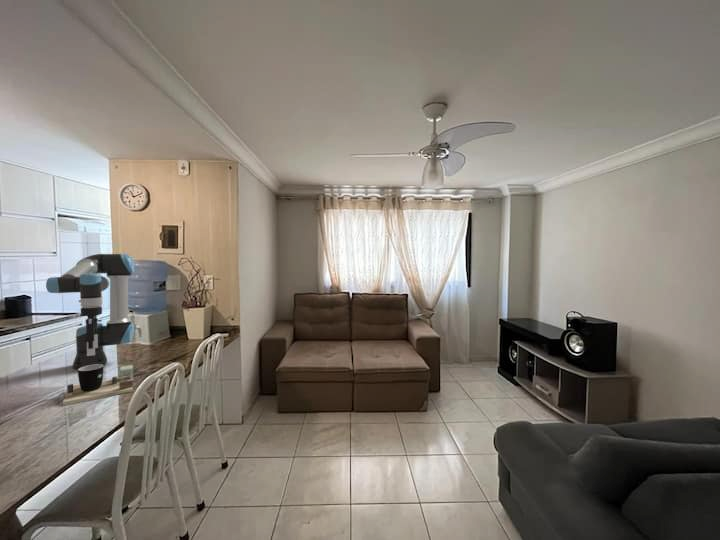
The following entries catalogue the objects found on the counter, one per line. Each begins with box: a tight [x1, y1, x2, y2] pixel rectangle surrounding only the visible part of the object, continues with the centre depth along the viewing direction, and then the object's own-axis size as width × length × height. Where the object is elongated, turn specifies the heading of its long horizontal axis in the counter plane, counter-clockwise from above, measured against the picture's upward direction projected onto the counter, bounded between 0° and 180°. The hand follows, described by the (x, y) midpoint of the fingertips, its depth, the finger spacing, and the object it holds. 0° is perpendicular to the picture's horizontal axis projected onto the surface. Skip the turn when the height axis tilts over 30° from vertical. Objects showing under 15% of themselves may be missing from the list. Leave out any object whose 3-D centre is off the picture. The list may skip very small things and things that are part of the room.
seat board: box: [62, 375, 134, 406], centre depth 147 cm, size 20×24×4 cm
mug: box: [77, 364, 104, 392], centre depth 146 cm, size 12×9×10 cm
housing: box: [119, 364, 134, 381], centre depth 158 cm, size 6×5×5 cm
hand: (92, 351), depth 146 cm, fingers open, 13 cm apart
